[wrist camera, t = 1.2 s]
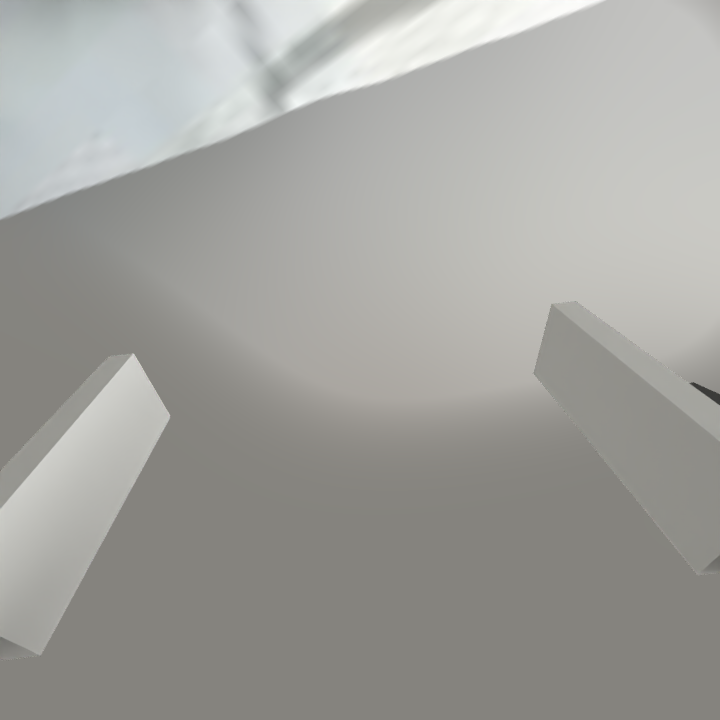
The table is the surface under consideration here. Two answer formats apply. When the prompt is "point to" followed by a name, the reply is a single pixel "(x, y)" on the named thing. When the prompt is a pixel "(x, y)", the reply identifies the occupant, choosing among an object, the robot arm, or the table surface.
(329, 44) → the table surface
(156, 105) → the table surface
